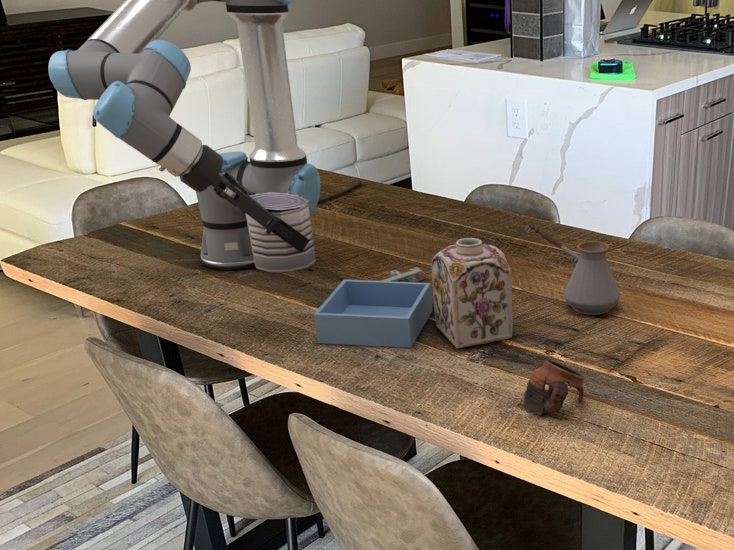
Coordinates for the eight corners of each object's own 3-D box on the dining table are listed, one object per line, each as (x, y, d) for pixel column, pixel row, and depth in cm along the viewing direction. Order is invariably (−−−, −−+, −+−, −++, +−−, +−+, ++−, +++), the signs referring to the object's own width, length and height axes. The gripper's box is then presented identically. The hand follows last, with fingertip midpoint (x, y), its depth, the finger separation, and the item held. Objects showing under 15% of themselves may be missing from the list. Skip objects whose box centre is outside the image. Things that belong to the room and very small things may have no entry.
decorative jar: (455, 350, 158) (449, 255, 149) (433, 327, 167) (427, 236, 158) (515, 338, 163) (513, 245, 154) (491, 316, 172) (487, 227, 163)
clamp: (407, 263, 191) (436, 274, 185) (408, 272, 192) (437, 284, 187) (349, 280, 182) (378, 293, 176) (351, 290, 183) (379, 303, 177)
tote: (347, 306, 176) (343, 279, 173) (432, 310, 174) (430, 283, 172) (317, 343, 161) (313, 314, 158) (411, 347, 159) (408, 318, 156)
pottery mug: (513, 397, 144) (533, 352, 143) (564, 417, 147) (584, 373, 146) (525, 415, 133) (547, 366, 132) (580, 436, 136) (602, 389, 135)
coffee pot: (629, 304, 178) (633, 232, 171) (602, 323, 170) (605, 249, 162) (541, 283, 188) (541, 215, 180) (512, 301, 179) (510, 230, 171)
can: (260, 252, 167) (249, 189, 160) (320, 251, 168) (312, 188, 162) (247, 273, 157) (235, 207, 151) (311, 272, 158) (302, 206, 152)
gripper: (167, 163, 156) (269, 234, 170) (189, 195, 138) (300, 272, 153) (192, 129, 155) (292, 204, 170) (217, 158, 138) (326, 238, 152)
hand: (296, 236), depth 161 cm, fingers closed on can, 11 cm apart
